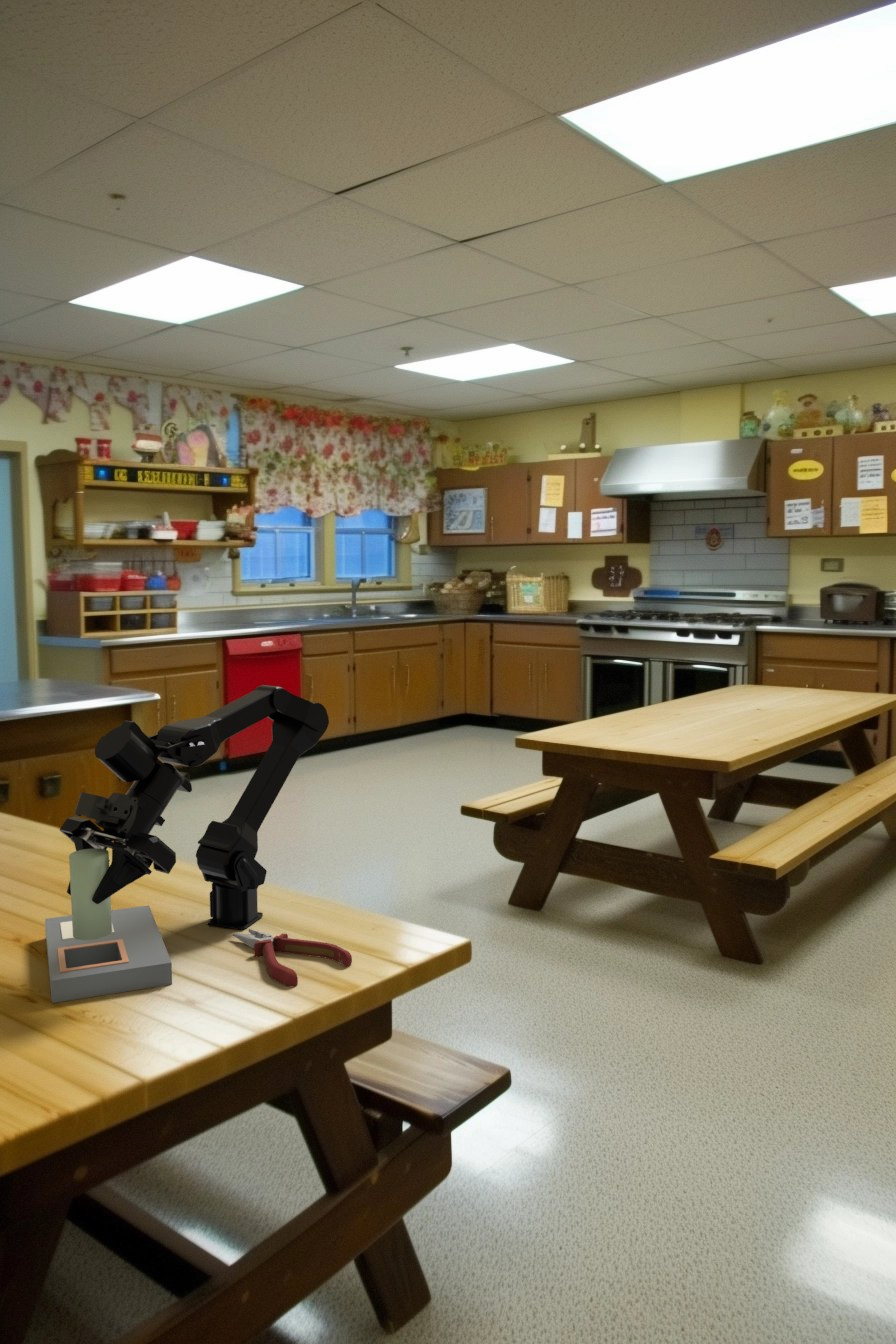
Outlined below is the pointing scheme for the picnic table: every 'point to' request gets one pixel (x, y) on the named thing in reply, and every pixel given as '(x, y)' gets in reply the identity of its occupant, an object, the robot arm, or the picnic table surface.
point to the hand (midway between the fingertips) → (81, 898)
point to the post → (89, 894)
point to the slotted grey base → (107, 957)
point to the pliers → (282, 943)
